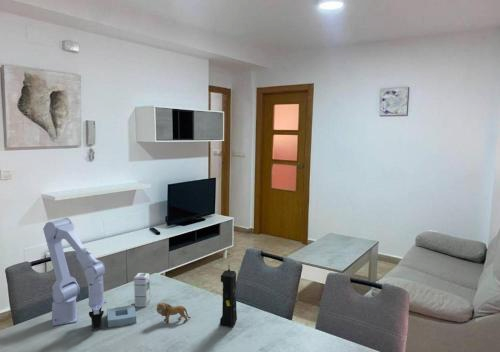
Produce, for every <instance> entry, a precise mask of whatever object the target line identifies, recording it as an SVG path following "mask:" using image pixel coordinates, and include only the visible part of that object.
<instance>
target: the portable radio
mask: <svg viewBox="0 0 500 352" xmlns="http://www.w3.org/2000/svg"><path fill="white" fill-rule="evenodd" d="M228 267H230V265H229V264H228ZM220 282H221V283H222V311H221V312H222V313H221V314H222V315H221V317H220V318H219V323H220V324H219V326H220V327H225V328H233V327H235V324H236V322H237V320H238V317H237V316H238V315H237V311H238V310H237V297H236V290H237V272H236V271H235V270H231V269H230V268H228V270H226V269H225V270H224V271H223V272H222V274H220Z"/></svg>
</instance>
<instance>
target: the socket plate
mask: <svg viewBox="0 0 500 352" xmlns="http://www.w3.org/2000/svg"><path fill="white" fill-rule="evenodd" d="M135 307H136V306H135V304H134V305H125V306H124V305H123V306H116V307H113V308H107V309H106V311H107V328H113V327H122V326H126V325H131V324H132V325H133V324H137V314H136V313H137V312H136V308H135Z"/></svg>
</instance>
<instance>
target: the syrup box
mask: <svg viewBox="0 0 500 352" xmlns="http://www.w3.org/2000/svg"><path fill="white" fill-rule="evenodd" d="M133 282H134V283H133V286H134V290H133V291H134V307H138V308H139V307H141V308H143V307H144V308H145V307H146V308H147V307H148V305H149V304H150V302H151V288H150V287H151V285H150V284H151V283H150V282H151V281H150V273H149V272H138V273H137V274H136V275H134V277H133Z"/></svg>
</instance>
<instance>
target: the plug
mask: <svg viewBox="0 0 500 352" xmlns="http://www.w3.org/2000/svg"><path fill="white" fill-rule="evenodd" d="M90 319H91V318H90ZM98 330H103V317H102V318H101V323H100V327H99V328H94V326H93V322H92V319H91V331H98Z"/></svg>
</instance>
